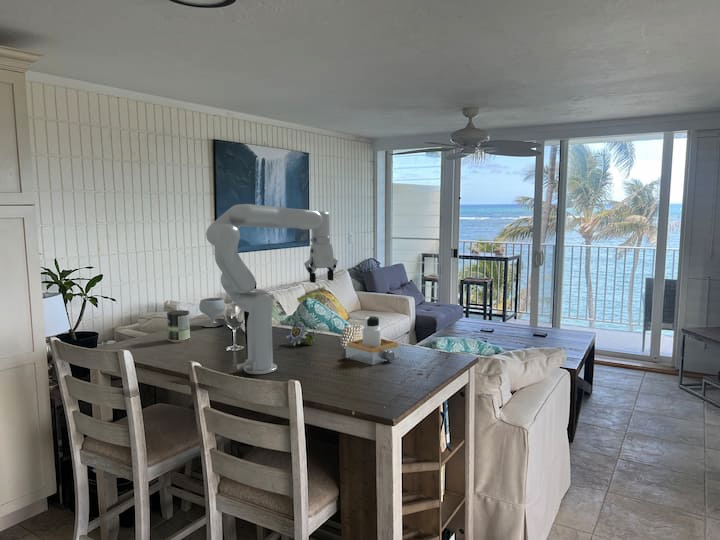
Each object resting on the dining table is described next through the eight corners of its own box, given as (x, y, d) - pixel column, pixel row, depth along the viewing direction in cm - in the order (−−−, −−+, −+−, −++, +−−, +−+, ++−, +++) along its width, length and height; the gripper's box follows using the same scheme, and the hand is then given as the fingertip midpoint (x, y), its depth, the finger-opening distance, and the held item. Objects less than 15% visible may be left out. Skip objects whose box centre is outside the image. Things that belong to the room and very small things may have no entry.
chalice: (208, 329, 273) (207, 302, 271) (195, 326, 282) (194, 299, 280) (231, 325, 283) (230, 299, 281) (217, 322, 292) (216, 296, 291)
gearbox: (378, 366, 202) (377, 350, 201) (345, 357, 215) (345, 342, 215) (404, 358, 213) (404, 343, 212) (372, 350, 226) (372, 336, 226)
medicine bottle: (380, 343, 217) (380, 315, 216) (379, 347, 210) (379, 319, 209) (364, 343, 218) (363, 315, 217) (362, 347, 211) (362, 318, 210)
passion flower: (295, 357, 237) (280, 336, 237) (307, 347, 246) (292, 327, 247) (311, 346, 231) (295, 325, 232) (322, 336, 241) (307, 316, 241)
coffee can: (167, 343, 243) (166, 314, 242) (168, 339, 253) (167, 311, 251) (190, 342, 246) (188, 313, 245) (190, 337, 256) (189, 309, 254)
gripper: (310, 241, 205) (311, 284, 206) (342, 240, 216) (342, 280, 218) (299, 241, 210) (299, 282, 212) (330, 239, 222) (331, 278, 224)
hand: (321, 281), depth 215 cm, fingers open, 9 cm apart
